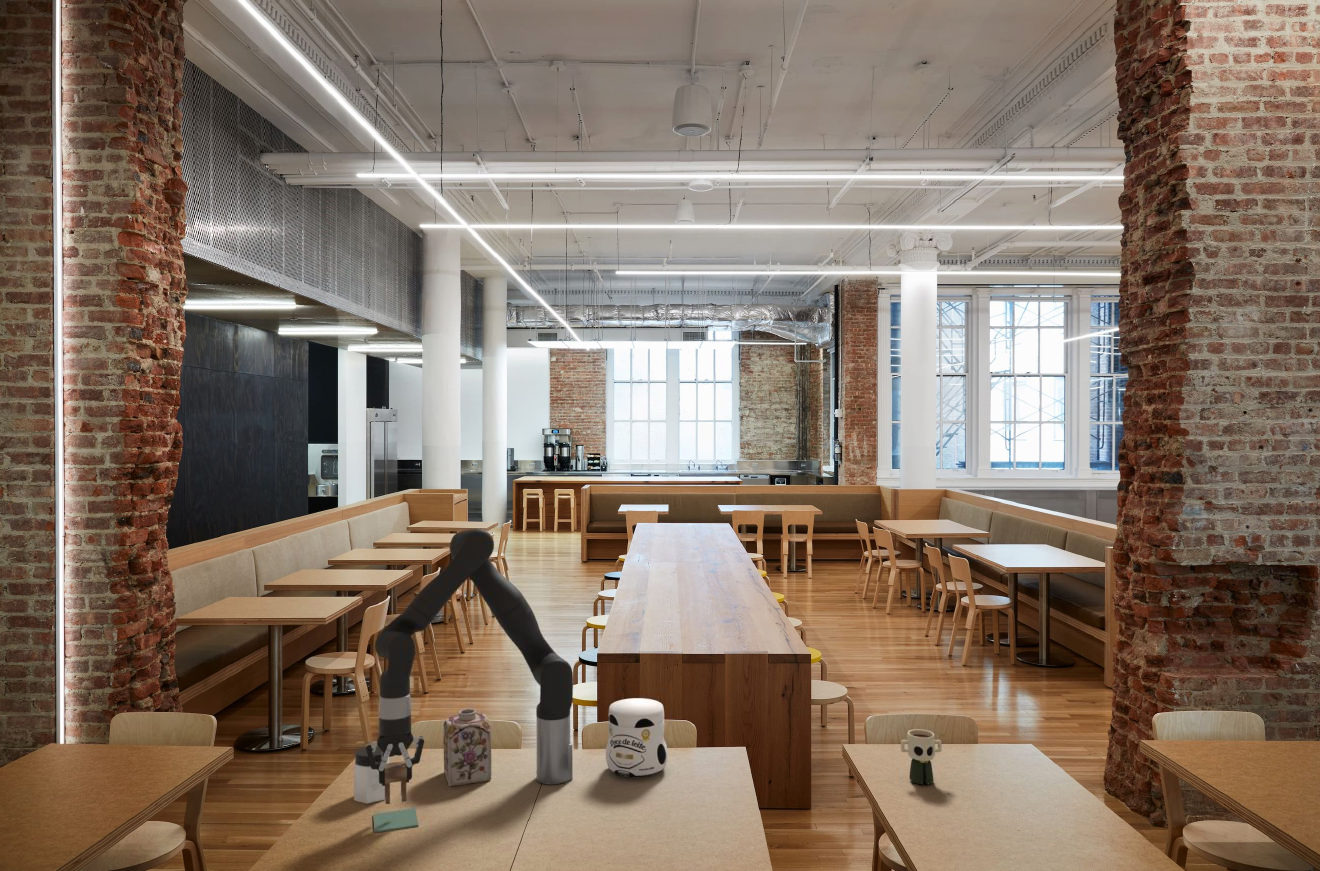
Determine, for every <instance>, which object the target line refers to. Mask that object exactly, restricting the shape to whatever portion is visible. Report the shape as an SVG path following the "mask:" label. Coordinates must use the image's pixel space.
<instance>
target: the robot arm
mask: <svg viewBox="0 0 1320 871" xmlns="http://www.w3.org/2000/svg"><path fill="white" fill-rule="evenodd" d="M449 545H450V546H449V549H450V554H451V556H452V559H451V561H449V563H448V564H447V566H446V567H445V568H444V569H443V570H442V571H440V572H439V573H438V575H436V576H435V577H434V578H432V580H430V582H428V583H427V584H426V585H425V586H424V587H423V588H422V589H421V590H420V591H419V592H418V593H417V594H416V596H415V597H414V598H413V599H412V600H411V602H410V603H409V604H408V605H407V607H406V608H405V609H404V611H403V612H402V613H400V614H399V615H398V616H397V617H395V618H394V619H393V620H392V621H390V622H389V623H388V624H387V625H386V626H385V627H384V628H383V629H382V630H381V631H380V632H379V634H378V636H377V637H376V639H375V641H374V642H375V643H374V650H375V652H376V654H377V655H378V656H379V657H381V658H383V659H386V660H388V663H387V669H386V670H383V672H382V673H381V675H380V678H379V703H378V737H377V740H376V741H373V742H367V743H366V744H365V747H366V750H367V754H368V758H369V762H370V766H371V769H373V770H374V769H377V770H378V771H379V783H380V784H382V786H385V765H386V762H387V760H388V758H389V759H390V758H392V757H394V756H399V757H400V756H402V757H403V759H404V760H403V761H405V762H406V767H407V781H406V784H408V783H410V780H412V778H413V766H414V765H417V764H419V763H420V762H421V757H422V753H423V748H424V745H425V739H424V736H422V735H420V736H414V735H413V734H412V710H413V708H412V699H411V678H410V677H411V674H412V670H413V666H414V661H415V658H416V643H415V640H414V639H413V635H414V634H415V633H420V632H423V631H425V630H426V629H427V628H428V627H429V626H430V624H431V623H433V621H434V619H435V618H436V617H437V615H438V614H439V613H440V612H441V610H442V609H443V608H444V606H445V605H446V603H447V602H449V600H450V598H451V597H452V596H453V595H454V594H455V593H456V592H457V590H458V589H459V588H461V586H462V585H463V584H464V583H465V582H466V581H467V580H468V579H470V580H471V582H472V583H473V584H474V586H475V588H476V589H477V591H478V592H479V594H480V596H481V597H482V598H483V600H484V602H485V603H486V605H487V606H488V608H489V610H490V611H491V613H492V614H493V616H494V618H495V619H496V621H497V622H498V624H499V626H500V627H501V628H502V629H503V631H504V633H505V634H506V635H507V636H508V638H509V639H510V640H511V642H512V643H513V644H514V645H515V646H516V648H517V649H518V650H519V651H520V653H521V656H522V657H523V658H524V660H525V662H526V664H527V666H528V668H529V670H530V672H531V674H532V676H533V679H534V680H535V682H536V683H537V684H538V685H539V688H540V690H539V692H540V693H539V694H540V695H539V703H538V704H537V705H536V709H535V710H536V712H535V714H536V715H535V716H536V728H535V730H536V732H535V733H536V772H535V773H536V780H537V782H539V783H541V784H544V785H557V784H558V785H559V784H562V783H563V784H564V783H566V782H567V781H572V780H574V779H573V776H574V775H573V744H572V742H571V708H572V705H573V700H574V699H573V698H574V696H573V694H574V693H573V692H574V674H573V669H572V666H571V665H570V663H569V662H568V661H567V660H565V659H564V658H563V657H561V656H560V655H558V654H557V653H556V652H555V651H554V650H553V648H552V647H551V646H550V644H549V642H548V641H547V640H546V639H545V637H544V636H543V634H542V631H541V629H540V627H539V623H538V620H537V618H536V616H535V613H534V611H533V609H532V608H531V606H530V604H529V603H528V601H527V599H526V597H525V596H524V595H523V593H522V592H521V591H520V590H519V589H518V588H517V586H515V585H514V584H513V583H512V582H511V581H510V580H509V579H508V578H506V576H504V575H503V574H502V573H500V571H499V570H497V568H496V566H494V564H493V563H492V561H491V559H490V557H491V556H492V554H493V552H494V550H495V541H494V538H493V536H492V535H491V533H489V532H488V531H487V530H485V529H482V528H472V529H464V530H461V531H458V532H456V533H455V534H453V536H452V538H451V540H450V542H449ZM412 743H413V744H414V747H416V748H415V752H414V756H413V757H411V756H410V753H409V751H408V750H409V747H410V746H412ZM377 746H378V747H379V748H380V749H381V750H382V751H383V753H382V756H381V760H380V762H379V763H378V762H376V761H375V757H374V753H373V752H375V751H376V747H377Z"/></svg>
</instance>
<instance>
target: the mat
mask: <svg viewBox="0 0 1320 871" xmlns="http://www.w3.org/2000/svg"><path fill="white" fill-rule="evenodd" d="M372 817H373V818H372V819H373V830H374V832H373V833H374V834H375V833H376V834H377V833H378V834H379V833H383V832H389V831H390V832H391V831H395V830H396V831H397V830H403V829H408V828H416V827H419V821H418V816H417V810H416V808H415V807H413V808H412V807H411V808H405V809H399V810H393V811H386V812H385V811H384V812H379V813H373V816H372Z"/></svg>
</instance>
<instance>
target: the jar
mask: <svg viewBox="0 0 1320 871" xmlns="http://www.w3.org/2000/svg"><path fill="white" fill-rule="evenodd" d="M373 753H374V757H375V761H376V762H378V763H379V762H380V760H381V756H382V753H383V751H382V750H381V749H380V748H379V747H378V746H377V747H376V751H375V752H373ZM354 756H355V757H354V758H355V761H354V762H355V763H354V764H353V791H354V792H353V801H354V802H357V803H358V802H359V803H362V804H368V805H369V804H373V803H376V802H382V801H384V800H385V786H382V784H380V783H379V771H378V770H377V769H374V770H373V769H371V766H370V762H369V758H368V754H367V750H366V746H363V747H361V748H359V749H358V750H356V751H355V754H354ZM386 763H390V757H389V758H388V760H387V762H386Z"/></svg>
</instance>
